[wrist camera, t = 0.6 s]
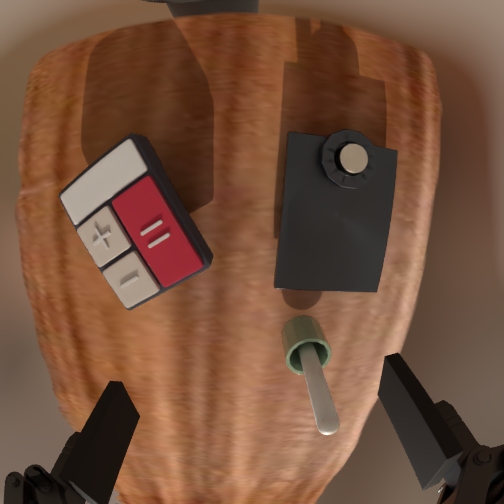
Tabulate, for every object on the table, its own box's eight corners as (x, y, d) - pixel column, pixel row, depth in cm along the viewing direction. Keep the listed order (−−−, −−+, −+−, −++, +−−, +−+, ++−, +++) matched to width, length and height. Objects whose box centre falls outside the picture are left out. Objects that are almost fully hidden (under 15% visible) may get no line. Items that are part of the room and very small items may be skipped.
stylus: (295, 328, 31) (322, 426, 17) (310, 328, 31) (344, 424, 17) (293, 341, 32) (316, 439, 18) (308, 341, 32) (338, 437, 18)
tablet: (287, 125, 26) (291, 120, 23) (393, 143, 26) (404, 142, 24) (273, 284, 30) (275, 294, 28) (373, 289, 31) (381, 297, 28)
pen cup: (283, 314, 31) (289, 338, 26) (324, 315, 31) (336, 338, 27) (278, 348, 33) (282, 374, 28) (317, 348, 33) (326, 373, 28)
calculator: (125, 315, 27) (52, 195, 23) (138, 298, 31) (73, 191, 27) (211, 269, 26) (130, 130, 22) (215, 255, 30) (145, 134, 26)
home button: (336, 142, 24) (341, 140, 23) (363, 147, 24) (368, 146, 23) (334, 170, 25) (339, 170, 24) (361, 174, 25) (366, 175, 24)
